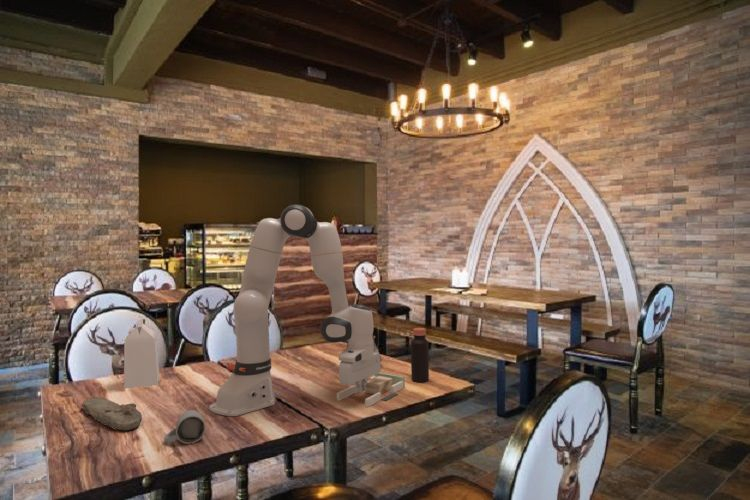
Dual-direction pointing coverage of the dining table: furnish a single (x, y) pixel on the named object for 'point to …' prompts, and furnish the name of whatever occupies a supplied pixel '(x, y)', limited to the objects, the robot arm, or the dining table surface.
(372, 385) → the maple block
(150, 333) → the milk
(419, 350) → the bottle
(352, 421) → the dining table surface
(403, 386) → the box
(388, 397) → the pads
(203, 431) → the ceramic mug
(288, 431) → the dining table surface
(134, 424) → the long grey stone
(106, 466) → the dining table surface
